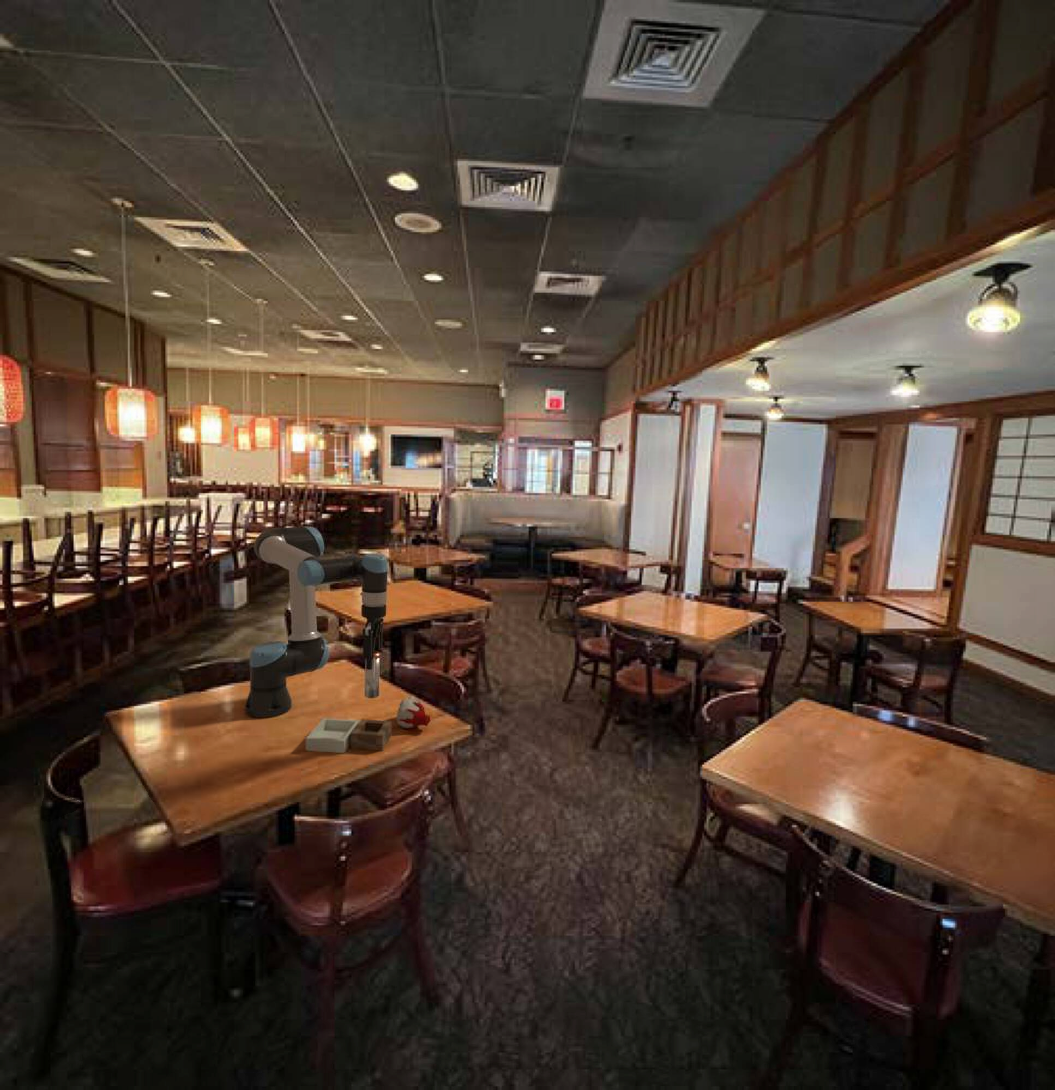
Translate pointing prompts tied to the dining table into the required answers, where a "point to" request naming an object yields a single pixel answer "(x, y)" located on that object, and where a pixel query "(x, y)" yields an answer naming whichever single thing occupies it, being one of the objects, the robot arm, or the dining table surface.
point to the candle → (412, 713)
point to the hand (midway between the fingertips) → (372, 675)
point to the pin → (373, 684)
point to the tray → (331, 735)
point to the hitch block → (371, 735)
